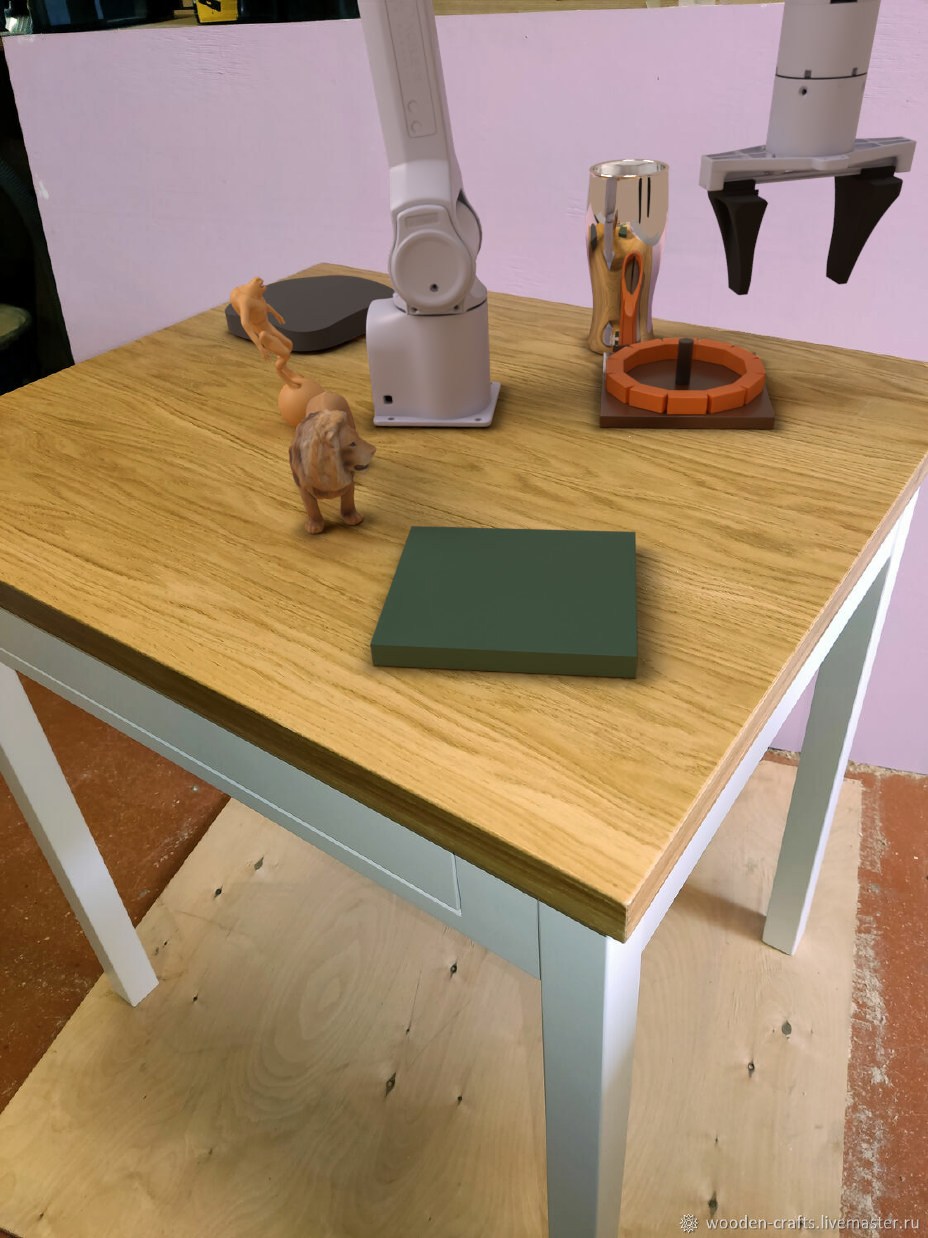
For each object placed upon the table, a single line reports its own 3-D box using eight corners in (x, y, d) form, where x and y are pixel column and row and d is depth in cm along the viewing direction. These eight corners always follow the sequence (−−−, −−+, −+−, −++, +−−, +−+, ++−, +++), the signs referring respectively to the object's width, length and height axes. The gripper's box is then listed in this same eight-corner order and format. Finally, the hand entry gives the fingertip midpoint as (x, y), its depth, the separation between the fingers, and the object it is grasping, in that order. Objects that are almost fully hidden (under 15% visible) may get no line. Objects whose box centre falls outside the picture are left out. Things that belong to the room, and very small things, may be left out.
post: (599, 427, 71) (601, 372, 68) (603, 363, 81) (604, 312, 78) (773, 429, 69) (782, 372, 66) (754, 363, 79) (761, 311, 76)
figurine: (327, 447, 70) (302, 290, 63) (250, 453, 70) (215, 297, 63) (335, 403, 77) (313, 256, 70) (264, 408, 77) (235, 262, 70)
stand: (373, 665, 49) (369, 644, 48) (413, 545, 58) (411, 525, 58) (636, 678, 47) (637, 656, 46) (634, 551, 56) (635, 531, 56)
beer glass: (670, 337, 85) (685, 160, 76) (640, 363, 80) (651, 178, 71) (602, 326, 88) (608, 155, 79) (569, 351, 83) (571, 173, 74)
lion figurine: (390, 549, 58) (375, 419, 53) (308, 563, 57) (283, 433, 52) (360, 450, 70) (344, 334, 64) (290, 460, 69) (268, 344, 64)
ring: (604, 414, 70) (604, 396, 69) (606, 353, 80) (607, 337, 79) (770, 415, 68) (773, 397, 67) (752, 353, 78) (754, 337, 77)
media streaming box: (312, 361, 85) (306, 329, 83) (213, 333, 93) (206, 303, 91) (414, 314, 94) (412, 284, 92) (316, 292, 101) (312, 264, 100)
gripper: (737, 90, 55) (713, 313, 64) (961, 70, 57) (908, 291, 65) (696, 76, 61) (679, 283, 69) (900, 59, 62) (859, 263, 70)
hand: (787, 285), depth 67 cm, fingers open, 7 cm apart
